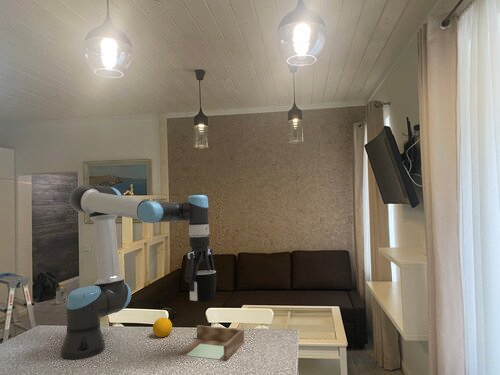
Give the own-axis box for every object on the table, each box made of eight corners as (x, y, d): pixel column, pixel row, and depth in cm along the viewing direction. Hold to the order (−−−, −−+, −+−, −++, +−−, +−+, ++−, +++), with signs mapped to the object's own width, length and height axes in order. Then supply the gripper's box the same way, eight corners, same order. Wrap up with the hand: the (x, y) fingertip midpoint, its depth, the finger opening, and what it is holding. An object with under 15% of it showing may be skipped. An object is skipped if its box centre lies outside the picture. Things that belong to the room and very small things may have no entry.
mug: (221, 297, 130) (220, 270, 131) (209, 303, 122) (208, 274, 123) (193, 296, 135) (193, 269, 136) (180, 301, 127) (180, 273, 128)
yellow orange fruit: (168, 331, 153) (168, 313, 154) (175, 336, 147) (174, 318, 147) (150, 335, 149) (150, 317, 149) (156, 340, 142) (156, 321, 143)
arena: (176, 357, 125) (175, 340, 125) (198, 340, 141) (198, 325, 141) (227, 363, 118) (226, 345, 119) (244, 345, 134) (244, 329, 135)
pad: (185, 355, 124) (185, 354, 124) (200, 344, 134) (200, 343, 134) (219, 359, 119) (219, 359, 120) (231, 347, 130) (231, 347, 130)
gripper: (189, 238, 119) (191, 305, 118) (223, 234, 138) (225, 291, 137) (172, 238, 123) (174, 303, 121) (207, 234, 142) (209, 290, 140)
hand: (201, 297), depth 129 cm, fingers closed on mug, 9 cm apart
